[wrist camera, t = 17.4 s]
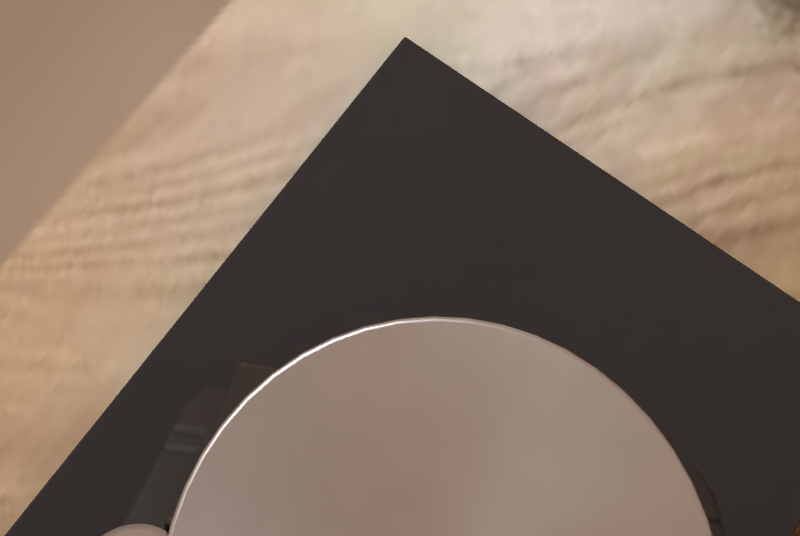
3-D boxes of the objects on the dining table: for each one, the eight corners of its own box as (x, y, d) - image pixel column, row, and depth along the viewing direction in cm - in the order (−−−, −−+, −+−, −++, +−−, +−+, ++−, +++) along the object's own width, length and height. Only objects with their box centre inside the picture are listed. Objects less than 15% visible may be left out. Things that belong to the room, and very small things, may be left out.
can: (380, 695, 17) (332, 1068, 7) (251, 455, 18) (56, 493, 8) (606, 550, 17) (852, 711, 8) (468, 325, 19) (525, 216, 9)
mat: (446, 1072, 17) (447, 1096, 17) (-58, 623, 19) (-72, 629, 19) (882, 368, 20) (896, 366, 20) (405, 45, 22) (404, 35, 22)
